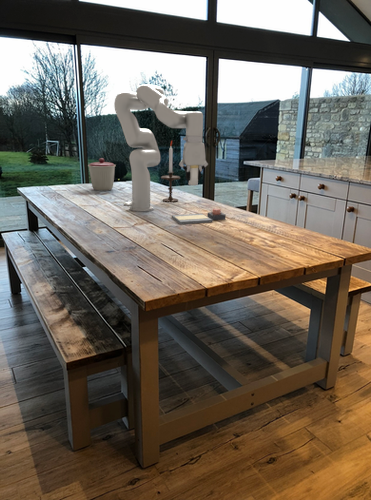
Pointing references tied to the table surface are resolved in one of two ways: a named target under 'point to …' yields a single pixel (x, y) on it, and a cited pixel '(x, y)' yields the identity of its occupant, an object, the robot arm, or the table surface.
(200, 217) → the board
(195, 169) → the marker
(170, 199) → the candlestick
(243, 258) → the table surface
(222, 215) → the button housing
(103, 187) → the canister
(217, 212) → the button
